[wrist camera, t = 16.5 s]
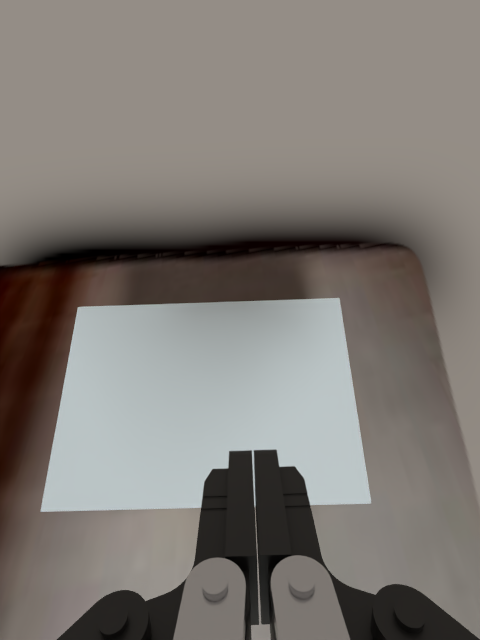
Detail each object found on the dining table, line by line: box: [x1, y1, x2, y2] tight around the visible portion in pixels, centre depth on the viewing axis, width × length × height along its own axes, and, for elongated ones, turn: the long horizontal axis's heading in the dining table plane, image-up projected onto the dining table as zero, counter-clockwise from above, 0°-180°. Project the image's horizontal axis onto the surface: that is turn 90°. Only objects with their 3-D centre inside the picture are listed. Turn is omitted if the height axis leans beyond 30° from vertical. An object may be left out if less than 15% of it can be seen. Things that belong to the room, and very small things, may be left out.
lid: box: [41, 298, 371, 512], centre depth 26 cm, size 20×14×1 cm
